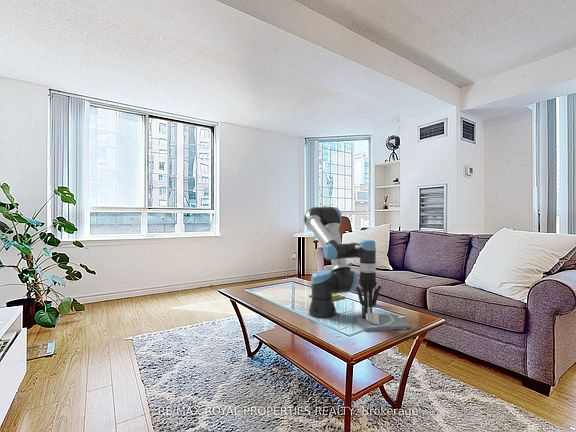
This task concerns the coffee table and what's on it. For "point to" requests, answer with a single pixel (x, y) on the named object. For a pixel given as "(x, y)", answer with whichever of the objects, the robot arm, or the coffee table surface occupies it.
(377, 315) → the white and grey lever
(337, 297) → the wooden puzzle
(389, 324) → the tuner board
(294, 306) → the coffee table surface
